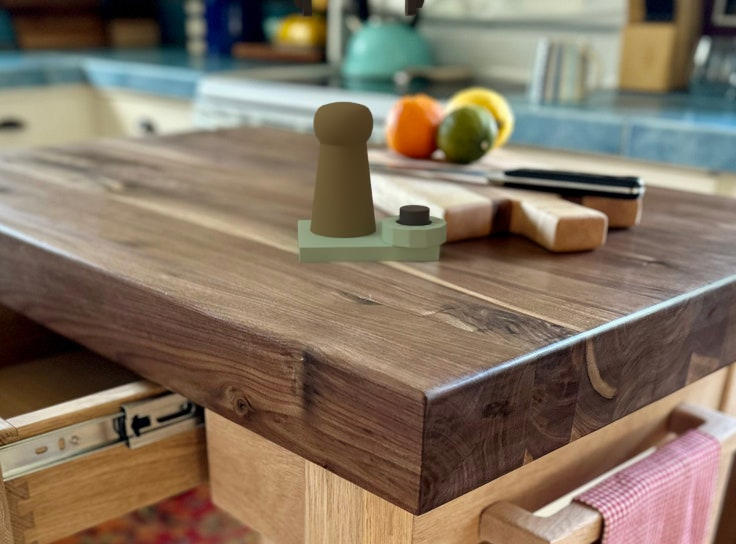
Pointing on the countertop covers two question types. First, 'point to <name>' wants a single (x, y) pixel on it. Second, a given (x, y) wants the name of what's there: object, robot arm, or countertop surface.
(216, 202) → the countertop surface
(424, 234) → the mint green base plate
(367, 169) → the cork
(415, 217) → the button
